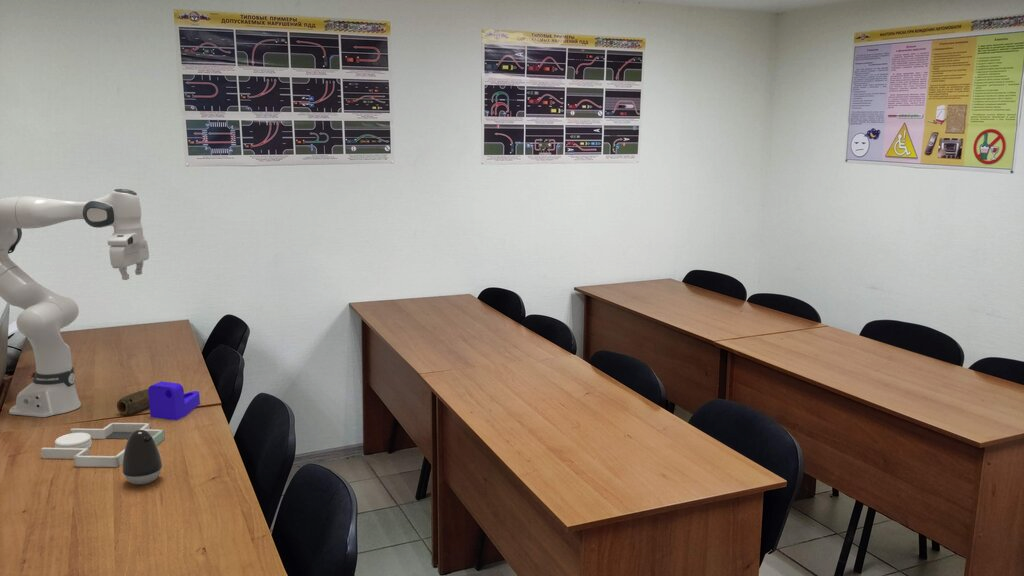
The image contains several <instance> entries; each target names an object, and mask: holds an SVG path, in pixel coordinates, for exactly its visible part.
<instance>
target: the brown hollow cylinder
mask: <svg viewBox="0 0 1024 576" xmlns="http://www.w3.org/2000/svg"><path fill="white" fill-rule="evenodd" d="M147 408H150V406H149V394H148V388H146V389H142V390H140V391H139V390H138V391H136V392H133V393H131V394H127V395H125V396H123V397H122V398H120V399H119V400H118V401H117V402H116V409H117V411H118V413H120V414H121V415H123V416H128V415H131V414H135V413H138V412H140V411H143V410H145V409H147Z"/></svg>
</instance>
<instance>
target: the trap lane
mask: <svg viewBox="0 0 1024 576" xmlns="http://www.w3.org/2000/svg"><path fill="white" fill-rule="evenodd" d="M137 430H145V431H147V432H148V433H149V434H150V435H151V436H152V438H153V439H154V441H155V443H156V445H157V446H158V445H159V444H161V442H162V441H164V440H165V439H166V436H165V435H166V434H165V429H152V423H150V422H149V423H147V422H110V423H108V424H107V425H106V426H104V428H77V427H76V428H73V427H71V429H70V434H71V433H87V434H89V435H90V436H91V440H92V439H95V440H98V439H99V440H100V439H101V440H128V439H129V437H130V435H131V434H132V433H133V432H134V431H137ZM89 449H90V448H56V447H41V448H40V452H41V459H55V460H56V459H59V460H60V459H62V460H63V459H64V460H65V459H66V460H70V459H71V460H73V465H74V467H77V468H78V467H81V468H82V467H85V468H87V467H88V468H90V467H92V468H93V467H94V468H96V467H97V468H119V467H120V466H121V465H123V456H124V451H125V448H124V449H123V450H122V451H120V452H118V453H117V454H116V455H90V450H89Z"/></svg>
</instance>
